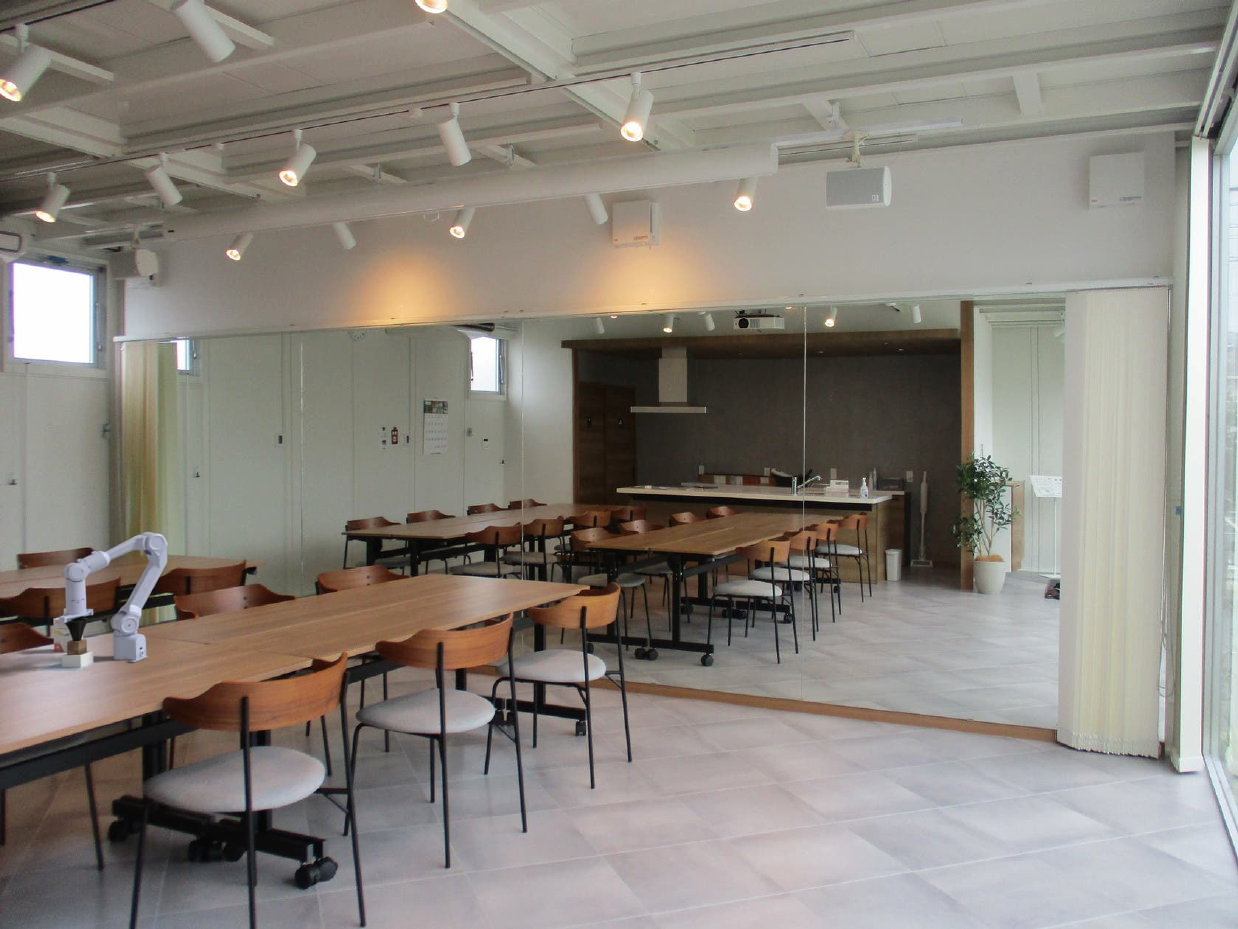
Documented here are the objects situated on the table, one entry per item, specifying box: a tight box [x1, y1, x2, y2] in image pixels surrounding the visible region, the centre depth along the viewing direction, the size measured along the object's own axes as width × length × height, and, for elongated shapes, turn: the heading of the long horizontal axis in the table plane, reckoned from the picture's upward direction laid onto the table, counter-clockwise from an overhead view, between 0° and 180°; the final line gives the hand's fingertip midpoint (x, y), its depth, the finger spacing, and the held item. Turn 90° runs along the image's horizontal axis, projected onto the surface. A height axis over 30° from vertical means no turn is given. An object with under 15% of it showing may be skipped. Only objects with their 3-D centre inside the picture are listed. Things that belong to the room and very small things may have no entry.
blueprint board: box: [34, 650, 98, 672], centre depth 304 cm, size 14×11×5 cm
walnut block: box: [66, 638, 88, 655], centre depth 306 cm, size 4×4×5 cm
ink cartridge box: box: [53, 607, 84, 653], centre depth 332 cm, size 9×5×15 cm, turn 74°
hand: (77, 640), depth 306 cm, fingers closed, pressing on walnut block
